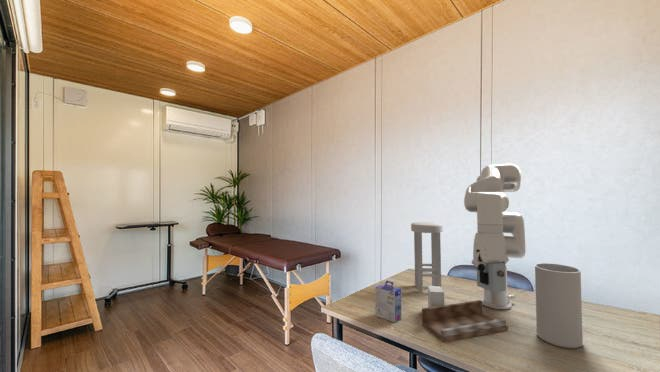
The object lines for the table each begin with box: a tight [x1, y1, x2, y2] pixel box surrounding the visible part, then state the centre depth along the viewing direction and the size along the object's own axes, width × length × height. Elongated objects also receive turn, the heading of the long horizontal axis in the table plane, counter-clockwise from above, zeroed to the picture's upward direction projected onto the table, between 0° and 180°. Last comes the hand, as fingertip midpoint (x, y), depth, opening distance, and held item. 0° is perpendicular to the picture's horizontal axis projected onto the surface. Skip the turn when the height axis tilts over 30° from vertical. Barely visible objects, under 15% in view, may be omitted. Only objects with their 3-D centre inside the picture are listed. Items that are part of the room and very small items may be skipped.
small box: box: [427, 285, 445, 308], centre depth 121 cm, size 8×6×10 cm
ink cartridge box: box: [374, 280, 403, 323], centre depth 118 cm, size 10×6×14 cm, turn 47°
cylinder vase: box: [534, 262, 584, 349], centre depth 99 cm, size 12×12×25 cm
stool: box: [410, 221, 444, 294], centre depth 152 cm, size 16×16×35 cm
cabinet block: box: [476, 262, 506, 292], centre depth 96 cm, size 5×8×9 cm, turn 17°
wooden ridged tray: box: [421, 299, 509, 343], centre depth 108 cm, size 28×13×6 cm, turn 106°
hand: (490, 282), depth 96 cm, fingers closed on cabinet block, 5 cm apart
